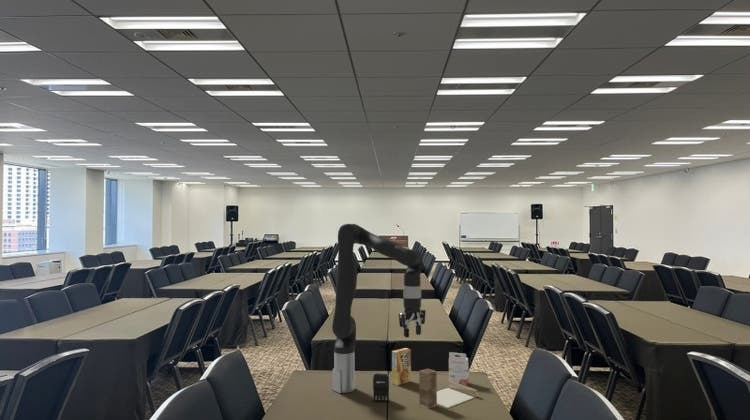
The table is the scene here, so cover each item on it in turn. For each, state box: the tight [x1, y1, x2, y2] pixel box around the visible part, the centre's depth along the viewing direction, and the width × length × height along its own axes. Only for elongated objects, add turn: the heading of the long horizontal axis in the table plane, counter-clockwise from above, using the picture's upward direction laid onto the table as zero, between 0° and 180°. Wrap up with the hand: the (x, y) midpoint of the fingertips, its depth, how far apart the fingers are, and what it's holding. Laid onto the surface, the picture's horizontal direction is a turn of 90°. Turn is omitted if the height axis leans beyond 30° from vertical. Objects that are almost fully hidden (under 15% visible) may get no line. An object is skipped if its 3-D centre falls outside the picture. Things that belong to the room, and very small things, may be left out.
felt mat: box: [437, 387, 475, 409], centre depth 201 cm, size 17×15×1 cm
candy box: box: [391, 347, 412, 386], centre depth 221 cm, size 9×4×15 cm, turn 129°
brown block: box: [418, 368, 438, 409], centre depth 193 cm, size 5×5×14 cm
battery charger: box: [372, 372, 390, 403], centre depth 198 cm, size 7×4×11 cm, turn 86°
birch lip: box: [448, 380, 478, 399], centre depth 207 cm, size 2×15×3 cm, turn 39°
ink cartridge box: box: [448, 351, 470, 387], centre depth 219 cm, size 9×5×15 cm, turn 68°
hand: (412, 335), depth 198 cm, fingers open, 6 cm apart
